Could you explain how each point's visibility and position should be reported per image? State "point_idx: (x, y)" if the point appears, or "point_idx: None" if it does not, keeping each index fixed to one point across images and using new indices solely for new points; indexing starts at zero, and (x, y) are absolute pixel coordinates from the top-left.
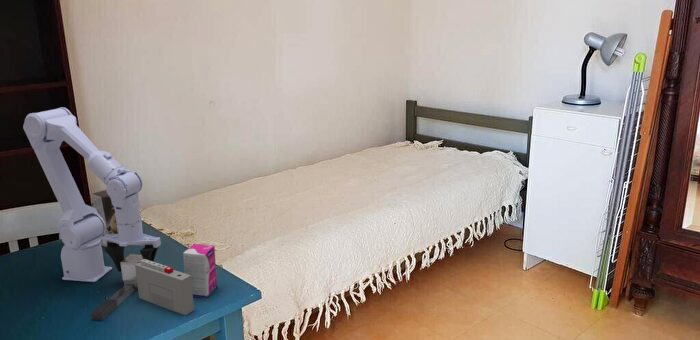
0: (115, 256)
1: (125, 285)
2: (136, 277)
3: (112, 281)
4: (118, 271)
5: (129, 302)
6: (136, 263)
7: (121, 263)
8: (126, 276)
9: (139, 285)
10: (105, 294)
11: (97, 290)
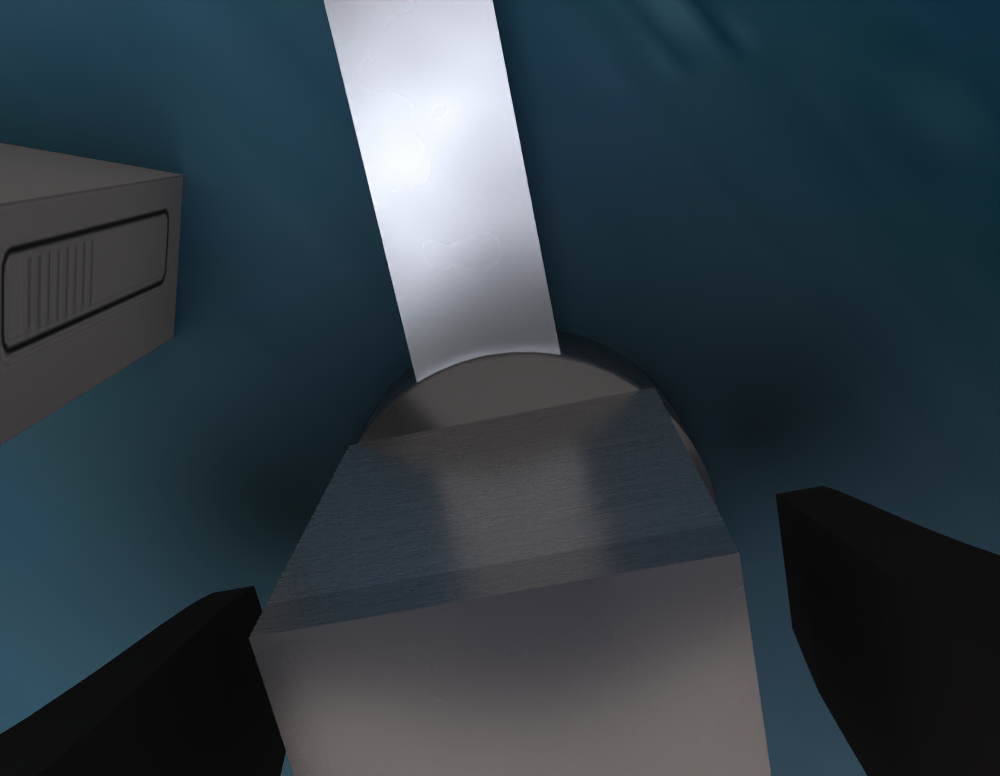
0: (961, 638)
1: (525, 296)
2: (391, 465)
3: (936, 444)
4: (818, 488)
5: (218, 8)
6: (281, 625)
7: (703, 537)
8: (586, 431)
9: (16, 183)
10: (767, 79)
11: (984, 140)
